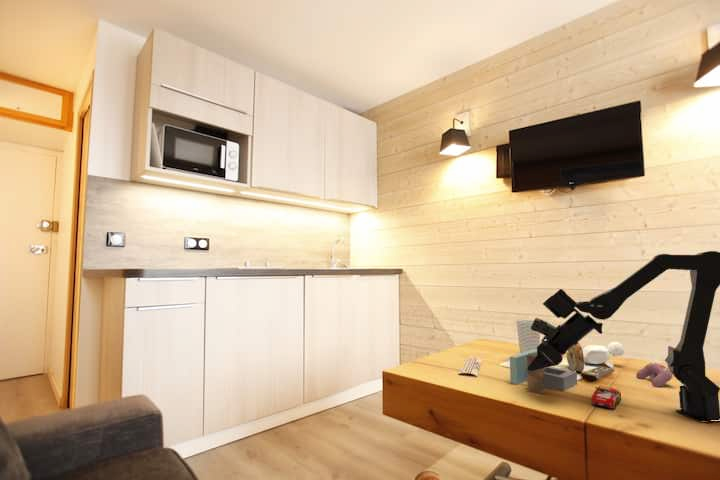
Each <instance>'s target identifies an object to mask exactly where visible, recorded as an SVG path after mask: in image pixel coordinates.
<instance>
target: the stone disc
mask: <svg viewBox="0 0 720 480" xmlns="http://www.w3.org/2000/svg"><path fill="white" fill-rule="evenodd" d="M582 350H583V348H582V346H581V344H580V343H579V342H578V344H576V345H574V346H572V347H571V348H570V349H569V350H568V351H567V352H566V353H565V354H566V355H565V356H566V360H567V364H568V366H569V369H570V370H571V369H572V370H573V371H581V372H583V371H584V369H585V365H584V363H585V362H584V356H583V351H582ZM572 370H571V371H572Z"/></svg>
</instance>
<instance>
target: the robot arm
mask: <svg viewBox="0 0 720 480" xmlns="http://www.w3.org/2000/svg"><path fill="white" fill-rule="evenodd" d="M668 270H681V271H689V276H690V277H689V278H690V282H691V290H690V295H689V298H688V305H687V307H686V308H687V309H686V312H685V317H684V321H683V322H684V323H683V326H682V329H681V331H682V332H681V336H680V340H679V342H678V343H677V345H676V347H673V346H670V345H668V346H667V356H666V358H665V359H664V361H665V363H666V364H667V368H668V370H669V371H670V372H671V373H672V376H674V377H675V380H676V379H677V380H678V382H680V384H682V385H679V391H678V395H679V407H680V408H679V409H678V408H677V409H675V412H676V413H679V414H681V415H683V416H686V417H688V418H691V419H694V420H696V421H698V422H701V421H711V420H719V419H720V400H719V399H720V398H719V393H720V387H719V386H718V385H717V384H716V383H715V382H714V381H713V380H711V379H710V378H709V377H708V376H706V359H705V353H704V345H705V340H706V336H707V333H708V332H707V331H708V328H709V327H708V326H709V322H710V319H711V318H710V317H711V314H712V309H713V305H714V302H715V301H714V300H715V295H716V292H717V290H718V288H719V287H720V251H717V250H708V251H703V252H699V253H696V254H669V253H661V254H660V253H659V254H657V255H655V256H654V257H652V259H651V260H650V261H649V262H647V263H645V264H644V265H643V266H641V267H640V268H639V269H637V270H636V271H635V272H634V273H632V274H630V276H628V277H627V278H625V279H624V280H623V281H621V282H619V284H617V285H616V286H614V287H613V288H611V289H608V290H606V291H604V292H602V293H601V294H598V295H597V296H594V297H593V298H591V299H590V300H588V301H587V300H586V301H575V300H574V299H573V298H572V297H571V296H570V295H569V294H567V292H566V291H565V290H564V289H563V288H559V289H558V290H557V291H556V292H555V293H554V294H553V295H550V297H548V298H547V299H546V300H545V301H544V302H543V303H542V305H543V306H544V307H545V308H546V309H547V310H548V311H549V312H551V313H552V314H553V315H554V316H555V317H556V318H557V319H560V318H561V319H563V320H565V319H566V318H568V317H569V318H568V319H567V320H565V321H564V322H563V323H561V324H558V325H557V326H555V325H552V324H550V323H548V321H546V320H543V319H542V318H541V319H540V318H538V317H535V318H534V319H533V320H534V322H533V324H532V326H531V329H532V330H533V331H537V332H539V333H540V335H543V337H542V339H540V343H539V345H538V347H537V356H536V357H535V358H534V360H533V361H532V362H531V363H530V365H529V366H528V367H527V369H528V370H529V371H533V370H537V369H541V368H546V367H555V366H558V365H559V364H561V363H562V362H563V358H564V357H563V356H565V354H567V352H568V350H569V349H570V348H571V347H572V346H574V345H576V344H578V343H579V342H580V341H581V340H582V339H583V338H585V337H586V336H587V335H589V334H590V333H591V332H592V331H593V330H595V331H596V332H597V333H598V334H600V335H601V334H603V326H604V324H603V322H597V321H596V320H595V319H597V320H608V319H610V318H611V317H613V315H615V313H616V312H617V311H618V310H619V309H620V307H621V306H622V305H623V304H624V303H625V302H626V300H628V299H629V298H630V297H631V296H632V295H634V294H636V293H637V292H638V291H640V290H641V289H643V288H644V287H645V286H646V285H648V284H650V282H652V281H654V280H655V279H656V278H658V277H659V276H661V274H663V273H665V272H666V271H668ZM576 308H577V309H576ZM574 312H575V313H574ZM573 313H574V314H573ZM582 313H587V315H583V314H582ZM571 314H573V315H572V316H570V315H571ZM589 314H590V315H591V316H590V315H589ZM594 318H595V319H594Z"/></svg>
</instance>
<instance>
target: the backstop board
mask: <svg viewBox="0 0 720 480" xmlns="http://www.w3.org/2000/svg"><path fill="white" fill-rule="evenodd" d="M528 353H532V354H537V349H533V350H530V351H527V352H523V353H520V352H519V353H517V354H514V355H510V356H509V375H510V376H509V377H510V384H512V385H517V386H518V385H521V384H522V383H524V382H528V377H527V354H528Z"/></svg>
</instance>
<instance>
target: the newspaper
mask: <svg viewBox="0 0 720 480" xmlns="http://www.w3.org/2000/svg"><path fill="white" fill-rule="evenodd" d="M482 364H483V359H482V358H480V357H475V356H470V357H466V359H465V360H464V363H463V365H462V366H461V368H460V370H459V372H458V375H459V376H461V375H462V374H471V375H474V376H475V377H478V375H479V372H480V371H481V370H480V369H481V366H482Z"/></svg>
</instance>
